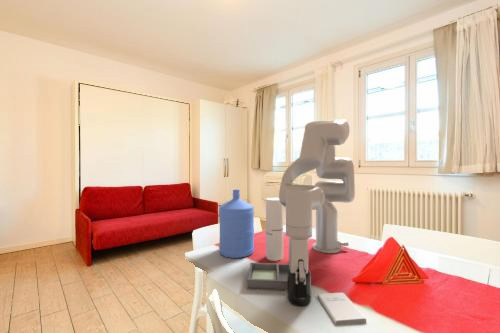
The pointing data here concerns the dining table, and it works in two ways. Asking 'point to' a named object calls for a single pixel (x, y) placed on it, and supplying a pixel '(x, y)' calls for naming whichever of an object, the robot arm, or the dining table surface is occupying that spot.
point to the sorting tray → (267, 276)
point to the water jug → (236, 228)
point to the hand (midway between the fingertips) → (299, 289)
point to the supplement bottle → (291, 289)
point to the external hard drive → (341, 308)
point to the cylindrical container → (274, 229)
